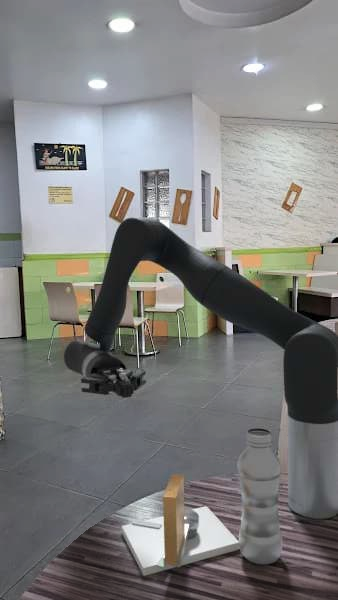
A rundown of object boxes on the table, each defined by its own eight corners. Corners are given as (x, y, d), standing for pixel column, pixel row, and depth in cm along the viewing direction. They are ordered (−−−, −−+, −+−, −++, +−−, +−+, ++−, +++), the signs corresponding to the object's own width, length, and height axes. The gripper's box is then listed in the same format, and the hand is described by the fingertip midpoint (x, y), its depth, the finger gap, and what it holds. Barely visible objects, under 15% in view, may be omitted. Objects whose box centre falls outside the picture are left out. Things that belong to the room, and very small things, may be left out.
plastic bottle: (283, 573, 70) (283, 441, 68) (237, 568, 71) (235, 438, 69) (282, 546, 76) (281, 425, 74) (239, 542, 77) (238, 423, 76)
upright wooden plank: (171, 514, 81) (170, 454, 80) (200, 516, 80) (199, 456, 79) (154, 567, 68) (151, 495, 67) (188, 570, 67) (187, 498, 66)
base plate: (205, 510, 87) (204, 498, 87) (243, 553, 75) (242, 539, 74) (120, 530, 82) (120, 517, 81) (146, 580, 69) (145, 565, 69)
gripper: (69, 356, 94) (87, 374, 78) (133, 349, 98) (163, 365, 82) (71, 394, 94) (89, 419, 78) (135, 385, 99) (165, 407, 83)
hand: (127, 391), depth 80 cm, fingers closed
